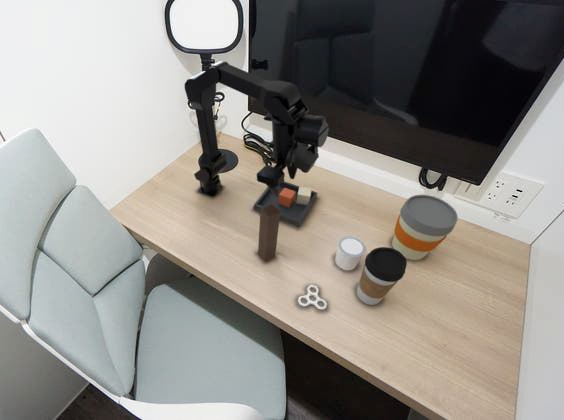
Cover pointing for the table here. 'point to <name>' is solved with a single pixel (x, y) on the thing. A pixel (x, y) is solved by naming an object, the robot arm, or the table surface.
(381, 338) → the table surface
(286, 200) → the terracotta block
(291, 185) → the tray
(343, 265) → the white short cylinder
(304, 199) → the cream block
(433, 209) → the reusable coffee cup
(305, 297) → the fidget spinner
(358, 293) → the coffee cup
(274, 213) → the brown square post
